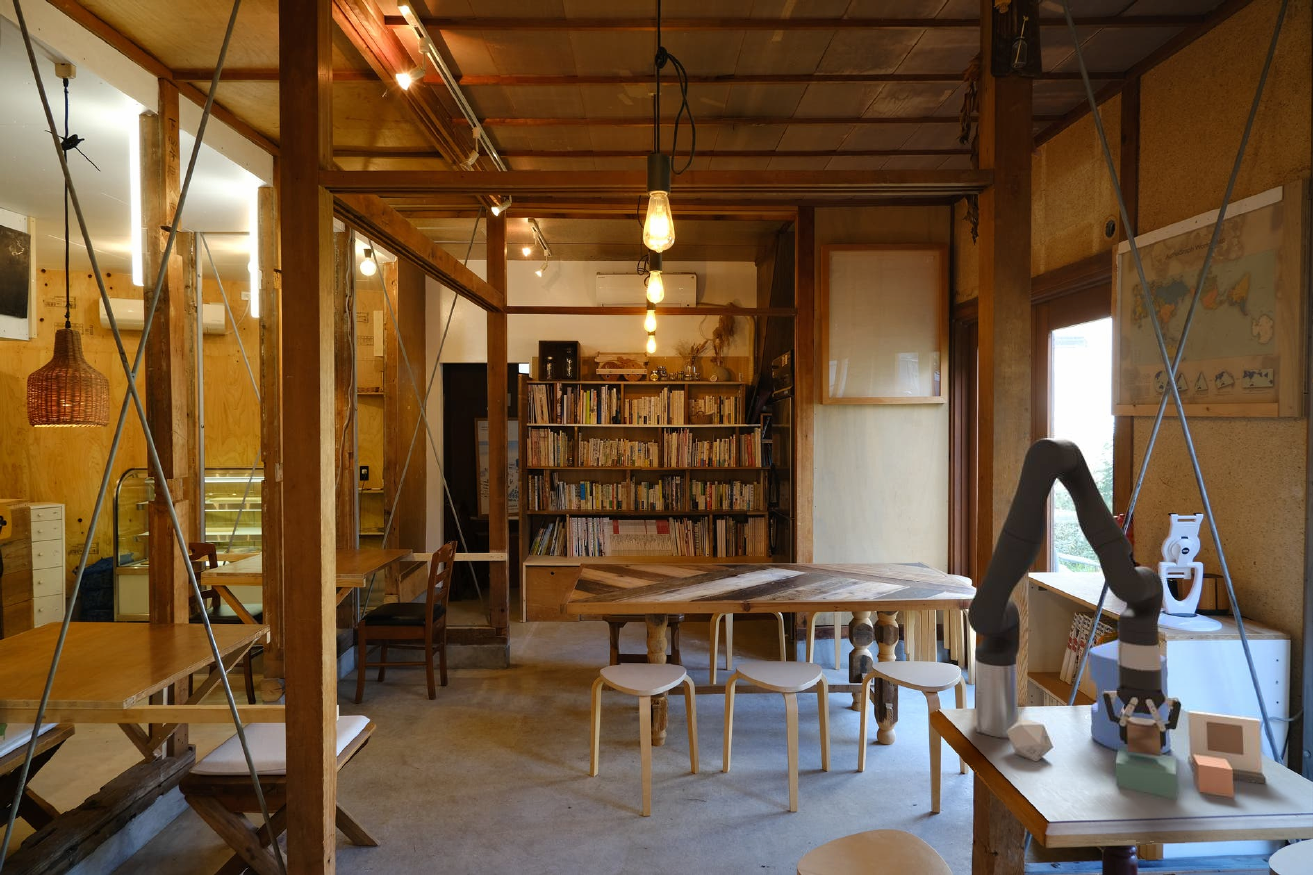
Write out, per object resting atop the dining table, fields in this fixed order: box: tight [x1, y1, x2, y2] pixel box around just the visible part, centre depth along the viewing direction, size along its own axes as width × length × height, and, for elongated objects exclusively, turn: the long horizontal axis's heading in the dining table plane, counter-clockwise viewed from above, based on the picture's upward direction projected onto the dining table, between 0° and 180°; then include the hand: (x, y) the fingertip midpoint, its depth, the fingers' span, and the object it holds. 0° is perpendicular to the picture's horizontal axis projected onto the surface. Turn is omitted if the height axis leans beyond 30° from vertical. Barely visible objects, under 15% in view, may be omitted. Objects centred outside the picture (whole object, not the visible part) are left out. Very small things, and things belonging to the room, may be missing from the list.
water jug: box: [1088, 638, 1171, 755], centre depth 168 cm, size 16×16×28 cm
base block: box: [1115, 746, 1178, 799], centre depth 148 cm, size 10×10×5 cm
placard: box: [1187, 710, 1267, 784], centre depth 152 cm, size 12×6×12 cm, turn 63°
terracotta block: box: [1192, 754, 1235, 798], centre depth 145 cm, size 6×6×6 cm
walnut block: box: [1126, 717, 1161, 756], centre depth 149 cm, size 6×6×6 cm
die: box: [1006, 717, 1054, 762], centre depth 162 cm, size 8×9×10 cm
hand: (1142, 744), depth 148 cm, fingers closed on walnut block, 5 cm apart
